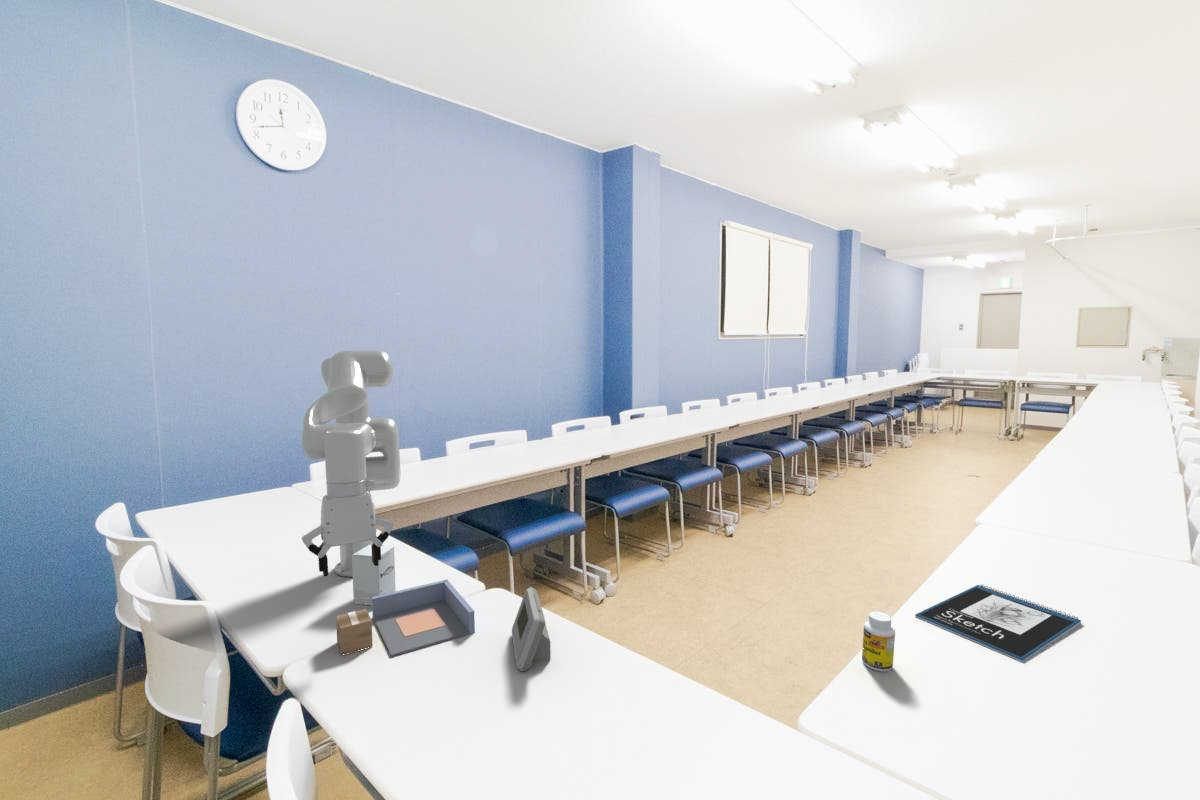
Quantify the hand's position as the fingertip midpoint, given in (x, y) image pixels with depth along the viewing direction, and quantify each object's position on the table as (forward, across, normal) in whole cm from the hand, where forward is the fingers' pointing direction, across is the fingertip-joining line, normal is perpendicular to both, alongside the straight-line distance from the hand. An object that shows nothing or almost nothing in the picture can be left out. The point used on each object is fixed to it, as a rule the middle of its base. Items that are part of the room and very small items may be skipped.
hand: (350, 568), depth 116 cm
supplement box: (+17, -8, -21) cm, 28 cm away
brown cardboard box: (+17, 0, -1) cm, 17 cm away
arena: (+17, -14, -1) cm, 22 cm away
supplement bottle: (+18, -87, +64) cm, 109 cm away
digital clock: (+18, -30, +21) cm, 41 cm away
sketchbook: (+18, -128, +68) cm, 146 cm away
